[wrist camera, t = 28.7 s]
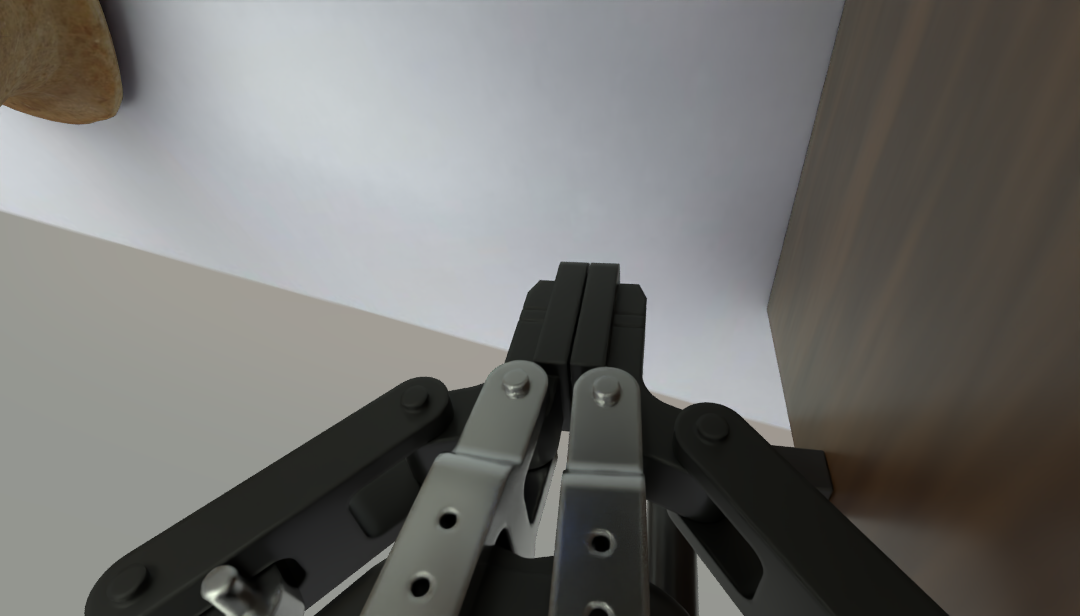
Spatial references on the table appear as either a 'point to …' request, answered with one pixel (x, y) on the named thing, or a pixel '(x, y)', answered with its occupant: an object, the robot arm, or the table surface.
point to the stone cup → (58, 61)
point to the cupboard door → (938, 303)
